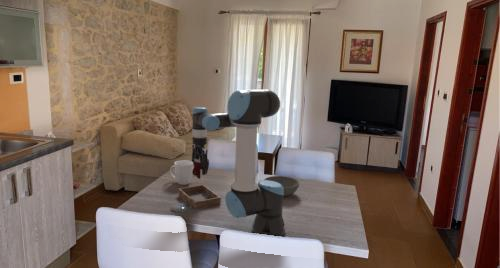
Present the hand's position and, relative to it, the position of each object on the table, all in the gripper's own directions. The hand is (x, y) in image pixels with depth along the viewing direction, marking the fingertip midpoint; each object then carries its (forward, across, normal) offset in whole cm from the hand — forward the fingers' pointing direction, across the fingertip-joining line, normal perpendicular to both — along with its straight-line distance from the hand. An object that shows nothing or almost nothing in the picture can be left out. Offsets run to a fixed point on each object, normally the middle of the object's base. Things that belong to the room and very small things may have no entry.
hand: (199, 177), depth 193 cm
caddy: (+13, 0, 0) cm, 13 cm away
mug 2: (0, 0, 0) cm, 0 cm away
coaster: (+13, -5, +13) cm, 19 cm away
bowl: (+13, -14, -45) cm, 49 cm away
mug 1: (+13, +29, -2) cm, 32 cm away
